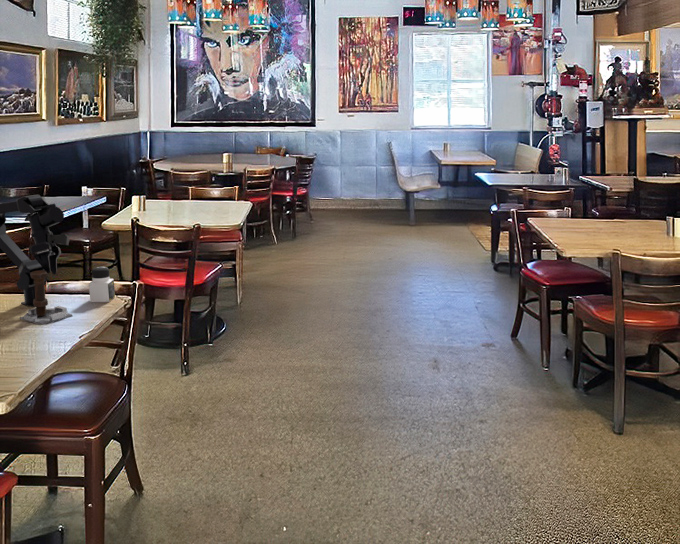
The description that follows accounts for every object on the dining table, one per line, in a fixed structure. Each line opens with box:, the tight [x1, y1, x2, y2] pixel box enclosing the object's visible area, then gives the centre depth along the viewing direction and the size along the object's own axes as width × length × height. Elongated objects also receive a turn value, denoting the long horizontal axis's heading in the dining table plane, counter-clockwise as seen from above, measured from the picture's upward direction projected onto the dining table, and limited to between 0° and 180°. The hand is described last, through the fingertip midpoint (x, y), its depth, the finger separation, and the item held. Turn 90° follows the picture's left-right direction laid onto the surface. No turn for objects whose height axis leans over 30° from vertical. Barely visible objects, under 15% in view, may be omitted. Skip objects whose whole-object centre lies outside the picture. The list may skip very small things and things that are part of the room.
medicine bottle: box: [88, 266, 116, 303], centre depth 292 cm, size 7×7×12 cm
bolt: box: [30, 270, 49, 316], centre depth 271 cm, size 6×5×15 cm
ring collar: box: [19, 305, 73, 326], centre depth 272 cm, size 13×13×2 cm
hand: (52, 273), depth 279 cm, fingers open, 9 cm apart
